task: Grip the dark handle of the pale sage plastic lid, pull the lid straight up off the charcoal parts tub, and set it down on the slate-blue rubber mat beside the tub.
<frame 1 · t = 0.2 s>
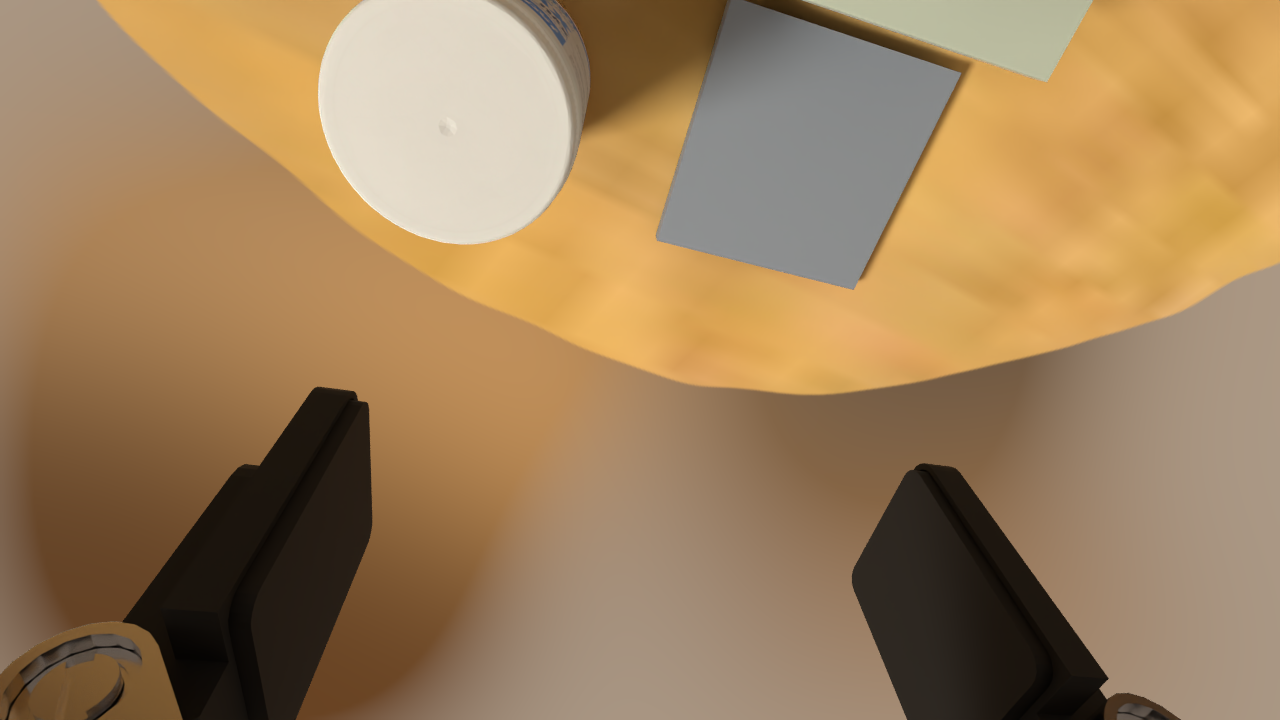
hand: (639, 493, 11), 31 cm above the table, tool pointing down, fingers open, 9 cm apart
supplement tub: (505, 72, 35), on the table
mat: (796, 157, 39), on the table
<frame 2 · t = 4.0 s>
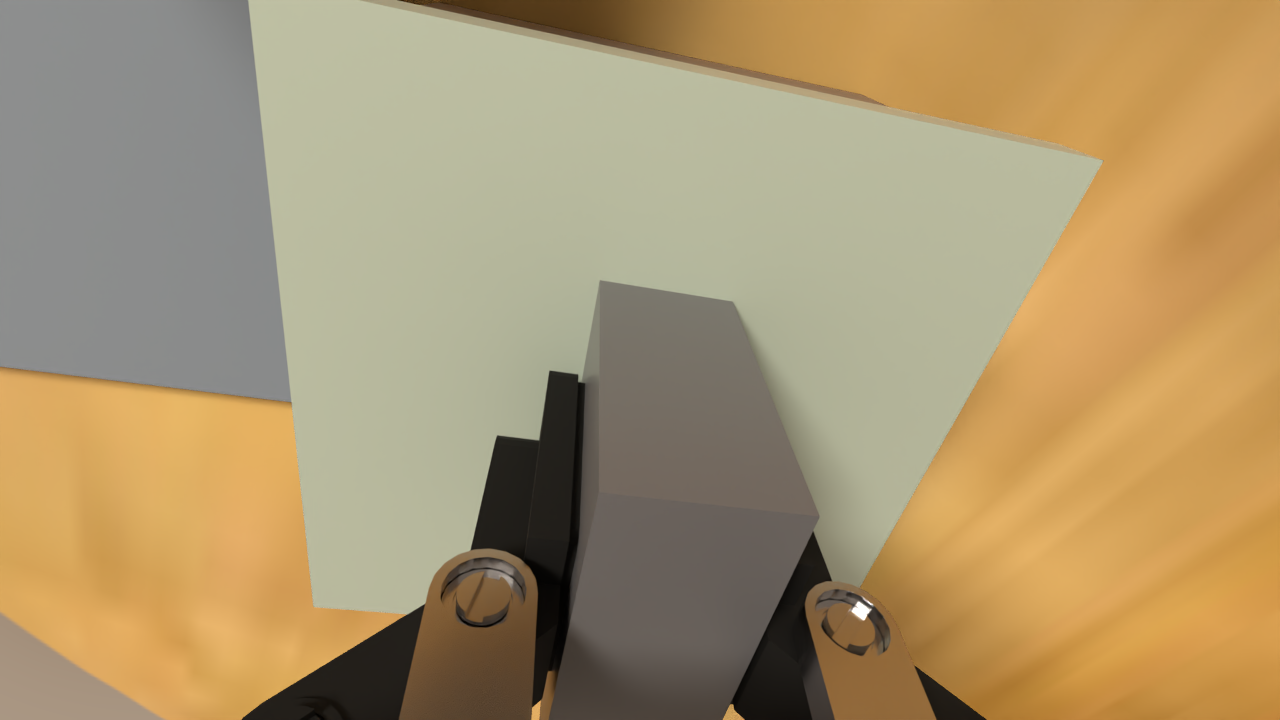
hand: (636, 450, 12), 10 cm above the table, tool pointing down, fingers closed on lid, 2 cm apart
parts tub: (621, 252, 20), on the table
lid: (632, 391, 13), point 8 cm above the table, touching gripper, parts tub
mat: (150, 172, 18), on the table
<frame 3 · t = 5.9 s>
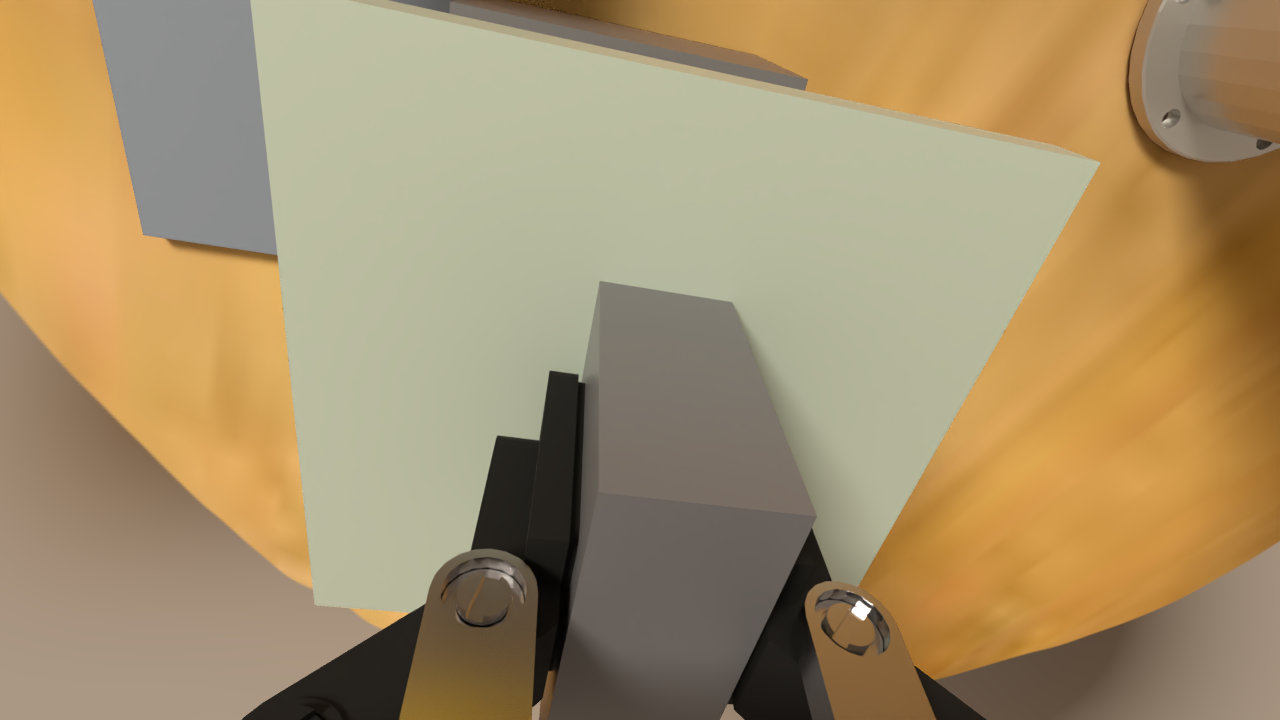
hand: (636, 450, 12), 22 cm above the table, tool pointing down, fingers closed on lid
parts tub: (603, 163, 30), on the table
lid: (631, 391, 14), point 20 cm above the table, touching gripper
mat: (296, 106, 28), on the table
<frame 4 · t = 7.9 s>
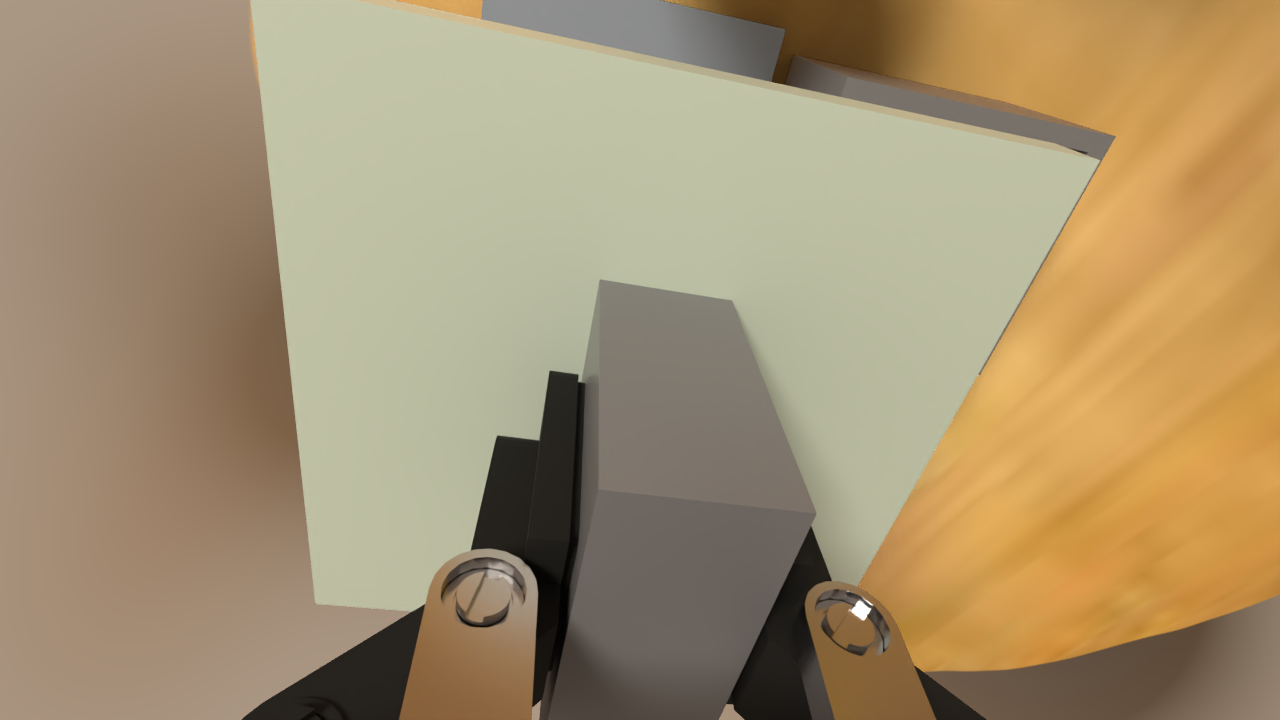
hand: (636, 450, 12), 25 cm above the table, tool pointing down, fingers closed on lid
parts tub: (860, 193, 35), on the table
lid: (631, 389, 14), point 23 cm above the table, touching gripper
mat: (613, 146, 33), on the table
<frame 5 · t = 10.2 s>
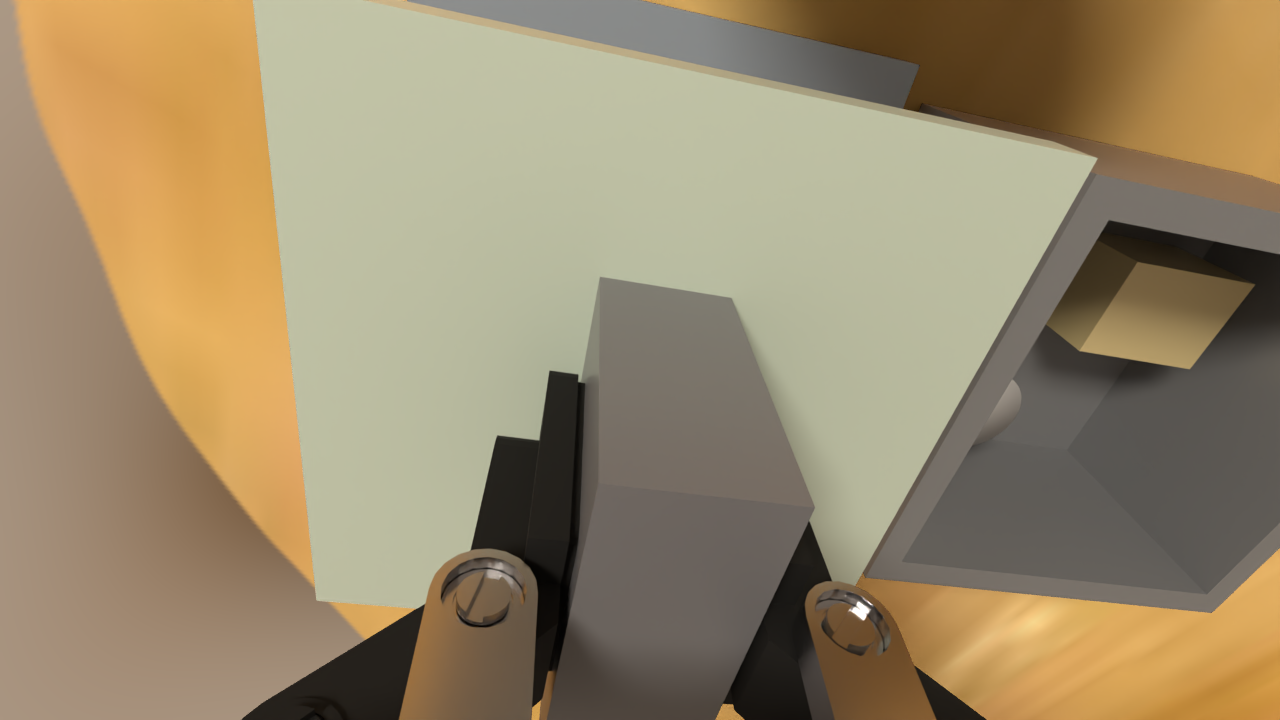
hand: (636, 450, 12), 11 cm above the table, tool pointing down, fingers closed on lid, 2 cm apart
parts tub: (1001, 306, 23), on the table
lid: (631, 387, 14), point 9 cm above the table, touching gripper
mat: (628, 242, 21), on the table
when the fingers open (5 cm above the table, at t = 12.0 s): lid drops 1 cm, resting on mat.
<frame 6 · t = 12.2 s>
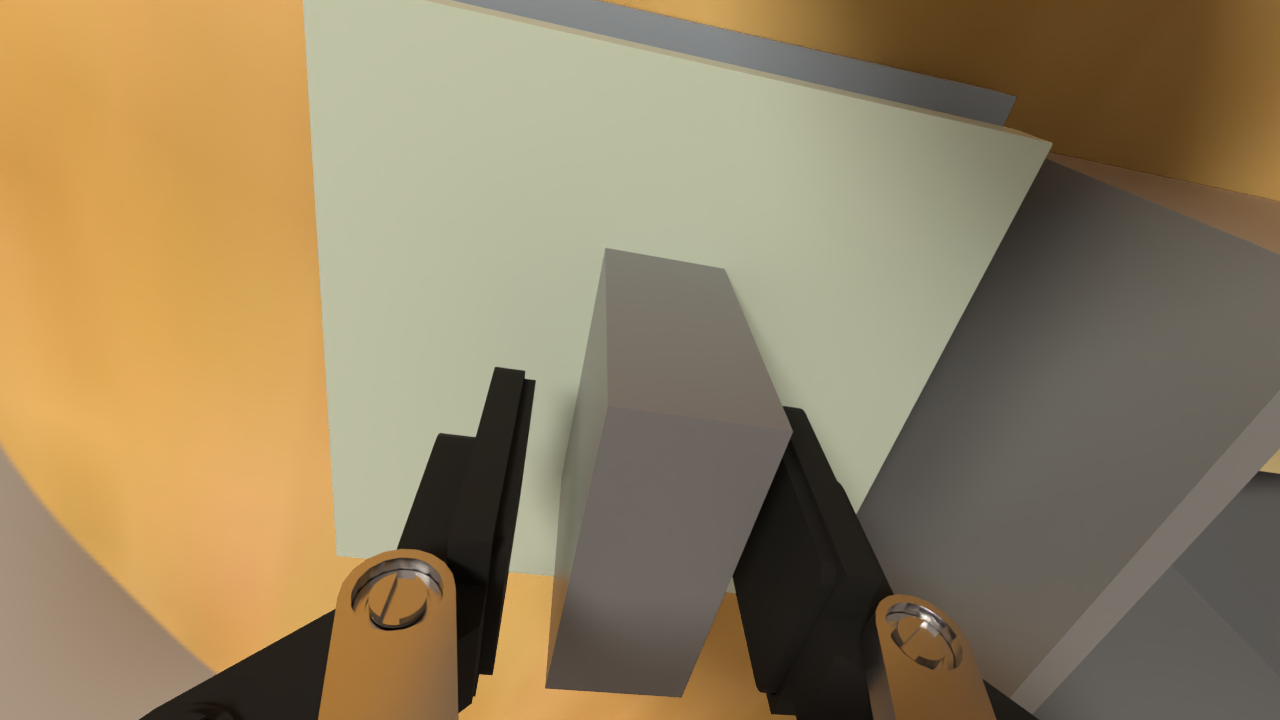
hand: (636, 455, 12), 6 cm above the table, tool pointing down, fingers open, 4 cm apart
parts tub: (1089, 387, 18), on the table
lid: (632, 355, 15), point 2 cm above the table, touching mat
mat: (626, 316, 16), on the table
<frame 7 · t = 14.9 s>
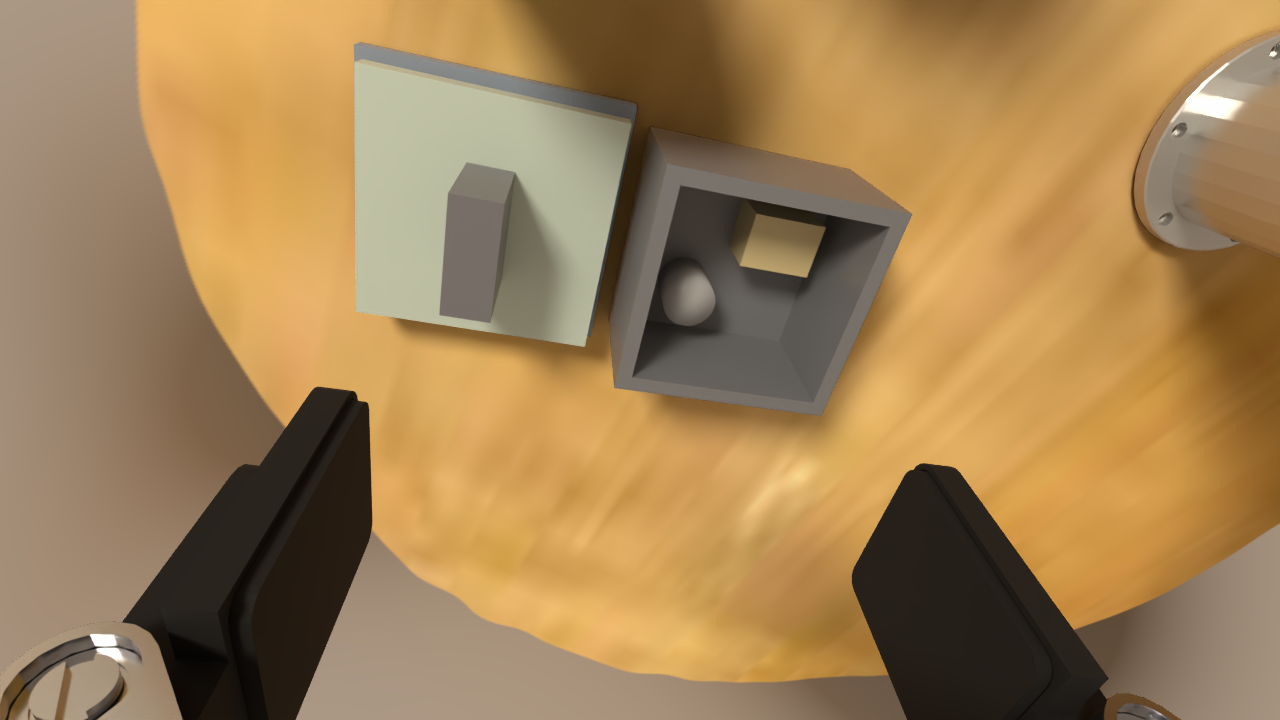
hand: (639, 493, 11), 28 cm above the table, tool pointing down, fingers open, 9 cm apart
parts tub: (723, 247, 38), on the table
lid: (487, 216, 34), point 2 cm above the table, touching mat
mat: (490, 204, 36), on the table
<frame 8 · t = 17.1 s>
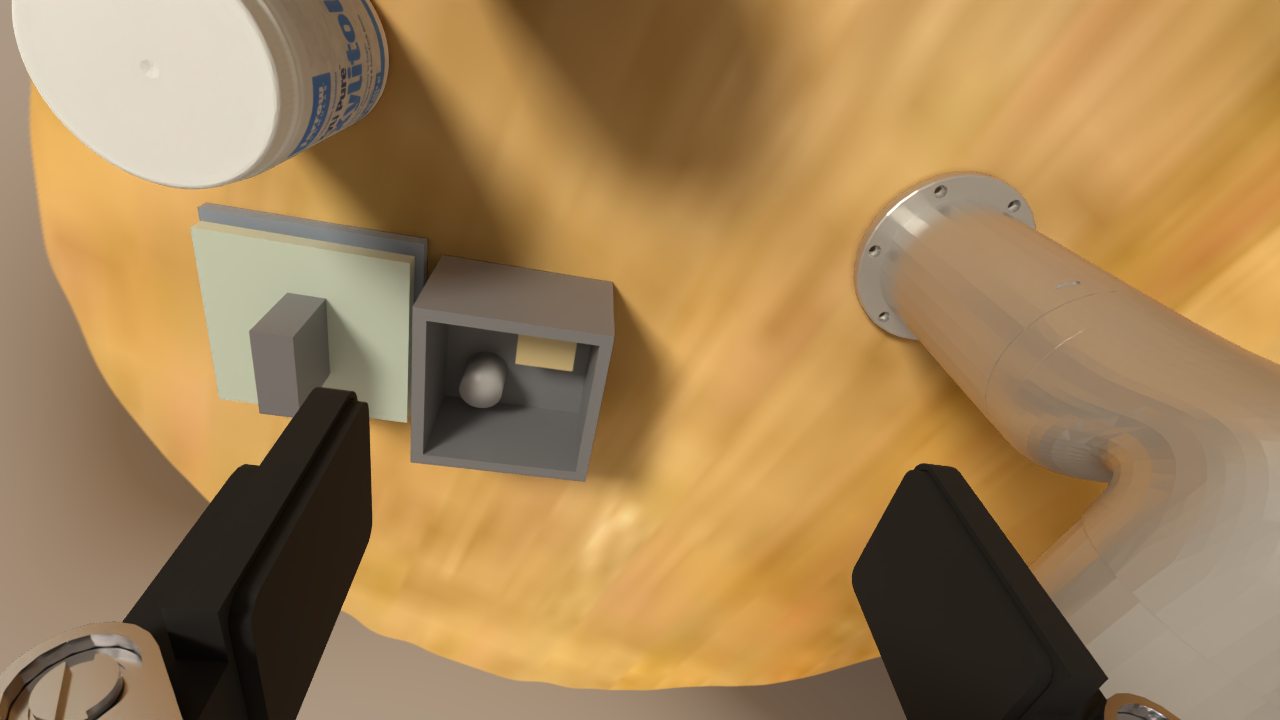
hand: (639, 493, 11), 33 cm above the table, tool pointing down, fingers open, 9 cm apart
parts tub: (520, 341, 47), on the table
supplement tub: (309, 39, 36), on the table
lid: (316, 326, 43), point 2 cm above the table, touching mat
mat: (325, 313, 45), on the table
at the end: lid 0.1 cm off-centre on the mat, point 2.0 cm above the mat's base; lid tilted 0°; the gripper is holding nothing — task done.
